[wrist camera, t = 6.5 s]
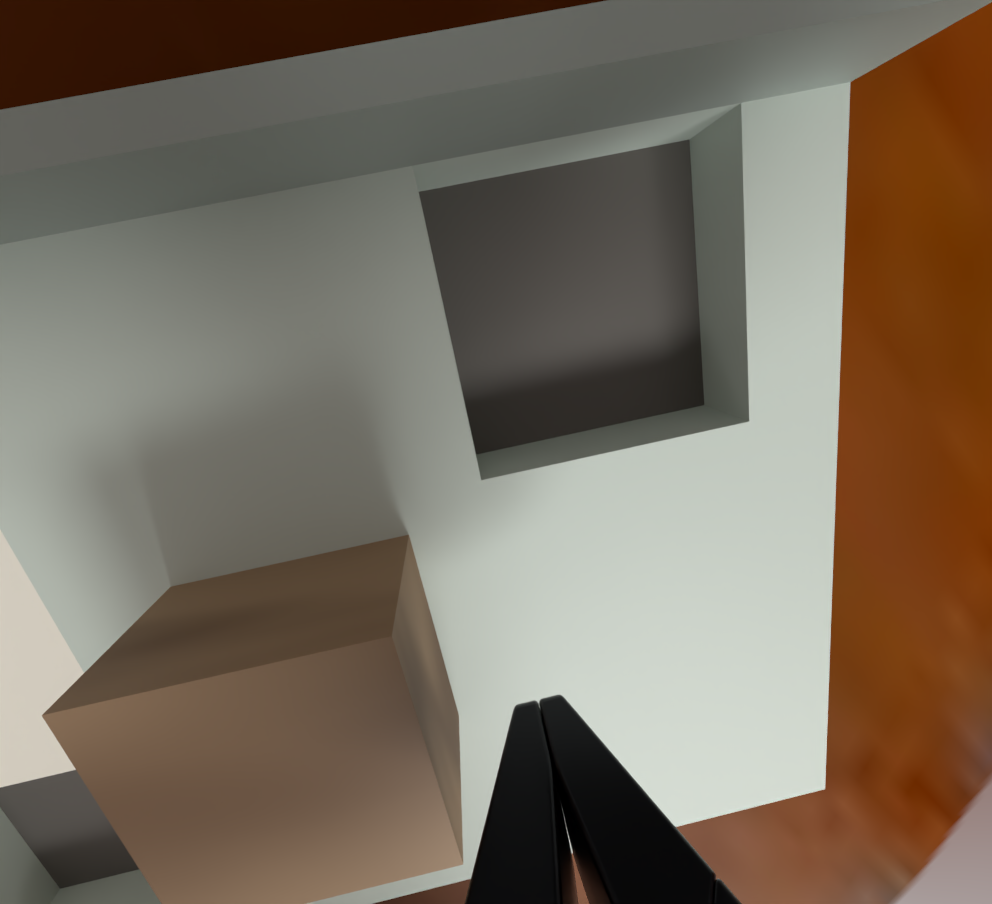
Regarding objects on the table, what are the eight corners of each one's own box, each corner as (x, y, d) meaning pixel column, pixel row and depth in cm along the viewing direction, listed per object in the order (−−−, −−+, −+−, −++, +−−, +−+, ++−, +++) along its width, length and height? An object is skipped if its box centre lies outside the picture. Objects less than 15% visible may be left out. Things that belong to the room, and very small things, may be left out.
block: (459, 715, 11) (463, 864, 8) (254, 763, 11) (181, 934, 8) (408, 534, 10) (392, 635, 7) (170, 587, 10) (41, 716, 7)
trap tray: (777, 729, 15) (906, 892, 11) (-25, 927, 14) (-226, 1191, 10) (773, 92, 10) (1025, -75, 6) (-527, 341, 9) (-1445, 370, 5)
